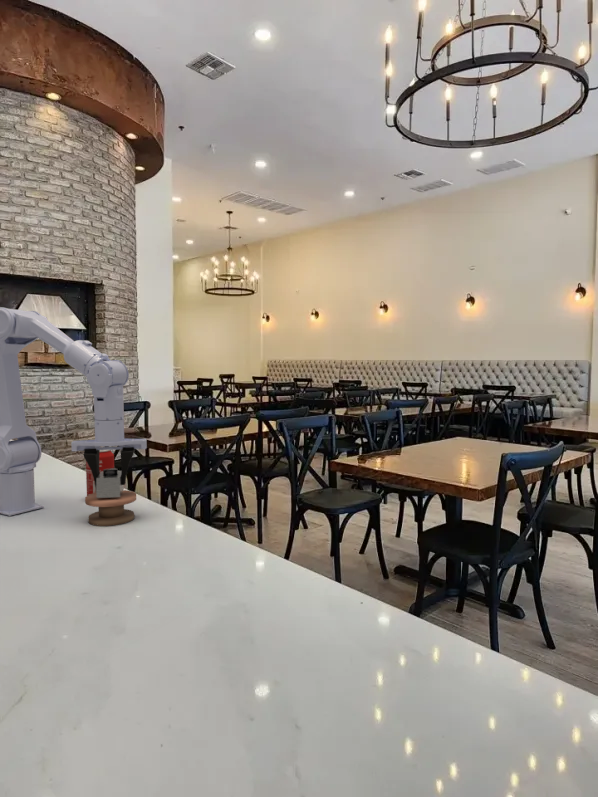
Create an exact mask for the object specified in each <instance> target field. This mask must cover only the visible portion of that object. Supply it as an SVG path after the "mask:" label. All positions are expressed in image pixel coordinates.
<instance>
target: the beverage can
mask: <svg viewBox="0 0 598 797" xmlns="http://www.w3.org/2000/svg"><path fill="white" fill-rule="evenodd" d="M108 468H115V454H114V453H113V452H112V450H100V454H99V471H100V473H101V471H103V470H104V469H108ZM85 476H86V478H85V480H86V481H85V483H86V496H88V495H90V494H93V493H97V486H95V481H94V477H93V474H92V471H91V469H90V467H89V465H88V463H87V461H86V460H85Z"/></svg>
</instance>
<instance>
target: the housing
mask: <svg viewBox="0 0 598 797" xmlns="http://www.w3.org/2000/svg"><path fill="white" fill-rule="evenodd" d="M121 471H122V470H118V468H116V467H114V468H108V469H104V470H103V471H101V473H100V474H99V475H98V477H97V478H96V486H97V498H110V497H120V496H121V494H122V492H123V490H124V489H125V487H124V486H125V485H121Z"/></svg>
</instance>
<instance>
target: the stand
mask: <svg viewBox="0 0 598 797" xmlns="http://www.w3.org/2000/svg"><path fill="white" fill-rule="evenodd" d="M84 500H85V504H86V506H89V507H95V508H98V511H95V512H93V513H91V514H89V515H88V520H87V521H88V523H89V524H90V525H92V526H96V527H112V526H119V525H124V524H128V523H130V522H132V521H133V520H134V519H135V512H134V511H133V510H132V509H125V505H128V504H131V503H134V502H136V501H137V493H136V492H135V491H132V490H127V489H126V490H123V492H122V494H121V496H120V497H110V498H97V493H93V494H90V495H88V496H87V495H86V496H85V498H84Z"/></svg>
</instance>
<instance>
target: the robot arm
mask: <svg viewBox="0 0 598 797" xmlns="http://www.w3.org/2000/svg"><path fill="white" fill-rule="evenodd" d="M36 340H40V341H42V342H44V343H45V344H47V345H48V346H50V347H52V348H53V349H54V350H57V351H58V352H60V353H62V354H63V360H64V362H65V363H66V364H67V365H69V366H70V367H72V368H73V369H75V370H77V372H79V373H80V374H82V375H83V376H84V377H85V378H86V380H87V384H88V385H89V387H90V388H91V395H93V408H94V409H93V412H94V414H93V415H94V439H85V440H84V439H83V440H72V441H71V443H70V444H71V445H70V446H71V452H79V451H81V452H83V451H84V452H83V455H82V456H83V457H84V459H85V460H84V461H85V462H86V461H87V463H88V465H89V467H90V469H91V471H92V474H93V477H94V481H95V486H96V478H97V477H98V475H99V474H100V471H99V454H100V450H111V451H112V450H121V451H120V464H121V470H120V471H121V485H124V486H125V485H126V482H127V475H128V474H127V473H128V470H129V467H130V463H131V461H132V458H133V457H134V453H135V452H136V450H139V449H140V450H147V448H148V446H147V441H148V440H147V438H125V417H124V416H125V414H124V413H125V412H124V410H125V408H124V406H125V405H124V403H125V402H124V386H125V385H126V384H127V382H128V380H129V378H130V377H129V375H130V374H129V370H128V367H127V365H126V364H125V363H124V362H123V361H122V360H118V359H113V360H111V359H110V358H109V355H108V354H107V353H106V352H105V353H103V352H101V351H99V350H98V349H96V348H95V347H94V346H92V345H93V343H92V342H90V341H89V340H82V339H79V340H75V341H74V339H72V338H71V337H69V336H68V335H67V334H66V333H64V332H63V331H62V330H60V329H59V328H58V327H57V326H55V325H54V324H53V323H52V322H50V321H49V320H48V317H47V316H45V315H42V314H41V313H40V312H38V311H36V310H24V309H23V310H22V309H15V308H7V307H1V306H0V514H1V515H5V516H14V515H18V514H23V513H26V512H30V511H36V510H39V509H43V508H44V505H43V504H39V503H36V502H35V501H36V499H35V498H36V496H35V468H37V463H38V462H39V461H40V459H41V457H42V446H41V444H40V443H39V441H38V438H37V432H36V430H34V429H33V428H31V427H30V426H29V425H28V424H27V421H26V412H25V404H24V396H23V395H24V394H23V389H22V388H23V386H22V381H21V373H20V366H19V364H20V363H19V358H18V357H19V356H18V355H19V354H20V352H21V351H22V350H23V349H25V348H26V347H27V346H29V345H30V344H32V343H33V342H34V341H36Z"/></svg>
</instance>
